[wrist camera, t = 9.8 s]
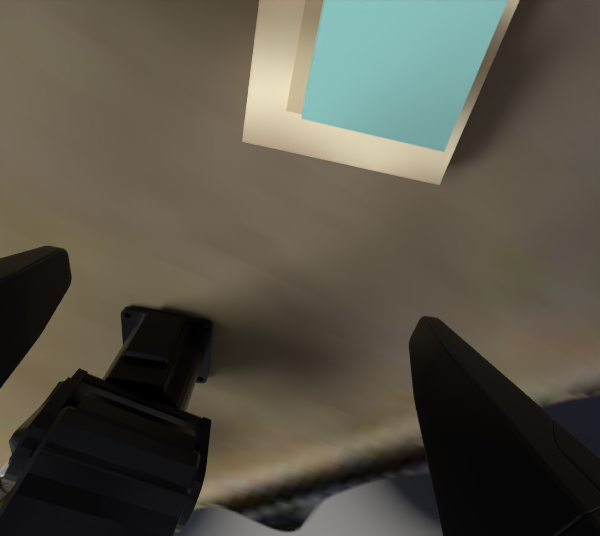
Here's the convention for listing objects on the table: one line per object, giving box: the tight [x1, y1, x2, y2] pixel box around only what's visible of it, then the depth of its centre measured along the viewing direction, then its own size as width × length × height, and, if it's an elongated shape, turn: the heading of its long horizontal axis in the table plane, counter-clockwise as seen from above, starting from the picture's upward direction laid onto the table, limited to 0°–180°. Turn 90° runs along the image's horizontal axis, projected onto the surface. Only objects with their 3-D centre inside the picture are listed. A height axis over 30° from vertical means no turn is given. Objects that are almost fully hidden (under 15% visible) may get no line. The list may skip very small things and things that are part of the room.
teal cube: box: [301, 0, 508, 152], centre depth 13 cm, size 5×5×5 cm
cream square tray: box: [242, 0, 519, 185], centre depth 16 cm, size 10×10×3 cm
